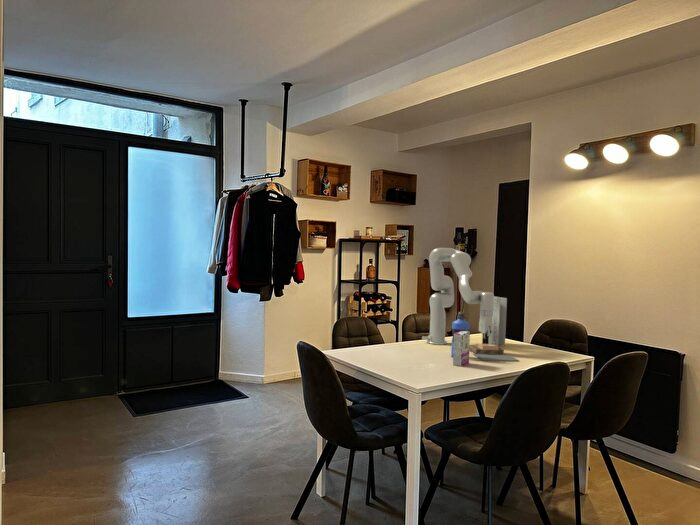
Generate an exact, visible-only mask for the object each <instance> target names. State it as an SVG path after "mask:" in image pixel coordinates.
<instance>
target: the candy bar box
mask: <svg viewBox="0 0 700 525" xmlns="http://www.w3.org/2000/svg"><path fill="white" fill-rule="evenodd" d="M470 334H471V333H470V331H469V332H466V331H460V332H458V333H455V334H454V352H453V358H452V360H453V361H452V365H453V366H456V367H461V368H462V367H463V366H466V365H467V364H469V363H470V351H469V345H471V344H470V341H471V340H470V339H471V336H470Z"/></svg>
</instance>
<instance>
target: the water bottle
mask: <svg viewBox="0 0 700 525" xmlns="http://www.w3.org/2000/svg"><path fill="white" fill-rule="evenodd" d="M457 314H458V315H457V316H456V317H457V319H456V320H453V321H451V328H452V339H451V352H450V353H451V355H450V356H451V358H452V359H453V352H454V334H455V333H458V332H460V331H466V332H470V324H471V323H470V322H468V320H466V315H465V312H464V311H459V312H458V313H457Z"/></svg>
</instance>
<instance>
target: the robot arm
mask: <svg viewBox="0 0 700 525" xmlns="http://www.w3.org/2000/svg"><path fill="white" fill-rule="evenodd" d="M442 262H450V263H451V265H452V267H453V270H454V271H455V274H456V276H457V277H458V290H459V292H460V295H461V297H462V299H463V300H464V303H466V304H468V305H474V304H475V305H477V304H480V305H479V322H478V332H479V333H481V335H482V336H481V338H482V341H481V342H482V343H481V344H489V336H490V334H491V333H492V317H493V307H494V296H495V294H494V292H492V291H491V292H489V291H483V290H472V289H471V286H470V283H469V282H470V278H471V277H472V276H473V271H472V270H471V268H470V265H471V263H472V257H471V255H470V254H469V253H467V252H465V251H464V252H463V251H461V250H458V249H456V248H452V247H437V248H434V249H433V250H431V251H430V253H429V257H428V263H429V272H430V273H429V274H430V286H431V289H432V290H434V291H437V292H435V293H433V294H431V295H430V297H429V307H430V310H429V311H430V313H429V314H430V315H429V316H430V319H429V334H428V335H426V336H421V340H425V341H426V343H428V344H431V345H442V346H443V345H447V344H448V341H447V340H446V323H447V322H446V317H447V315H446V310H445V309H446V308H450V307H452V306H453V305H454V302H455V287H454V285H455V284H454V281H453V279H452V278H451V276H449V275H445V269H444V265H443V263H442ZM438 291H439V292H438Z"/></svg>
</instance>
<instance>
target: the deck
mask: <svg viewBox="0 0 700 525" xmlns="http://www.w3.org/2000/svg"><path fill="white" fill-rule="evenodd" d="M504 351H505V350H504V349H503V348H501V347H499V346H498V350H482V349H480V348H479V344H478V345H476V344H474V345H473V344H470V345H469V352H471V353H472V352H473V353H472V354H505V353H504Z"/></svg>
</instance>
